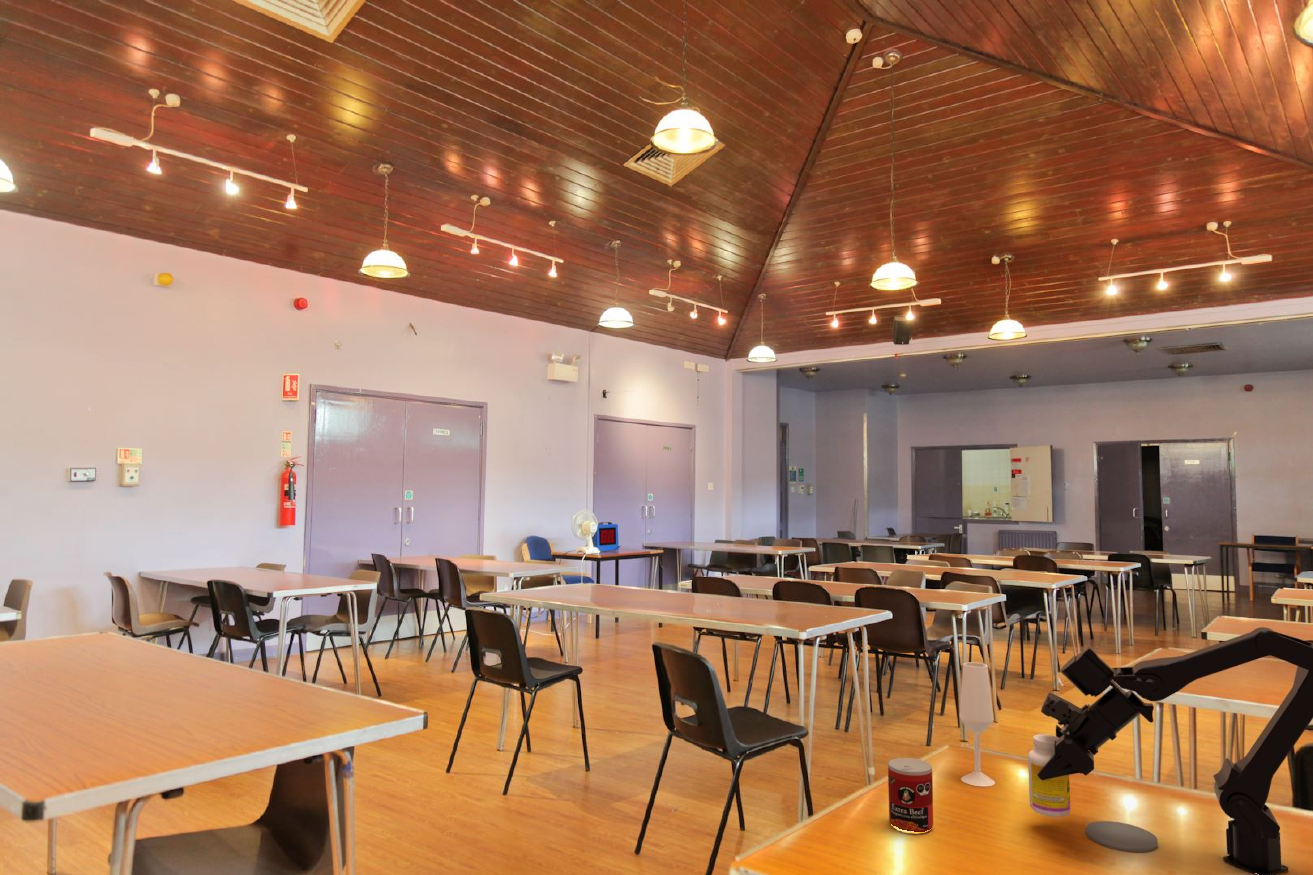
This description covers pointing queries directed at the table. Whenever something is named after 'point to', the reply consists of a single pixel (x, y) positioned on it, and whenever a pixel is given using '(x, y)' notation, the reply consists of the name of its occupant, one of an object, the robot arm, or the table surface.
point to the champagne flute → (976, 714)
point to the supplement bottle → (1047, 781)
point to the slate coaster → (1121, 836)
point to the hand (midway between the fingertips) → (1040, 771)
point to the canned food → (910, 794)
